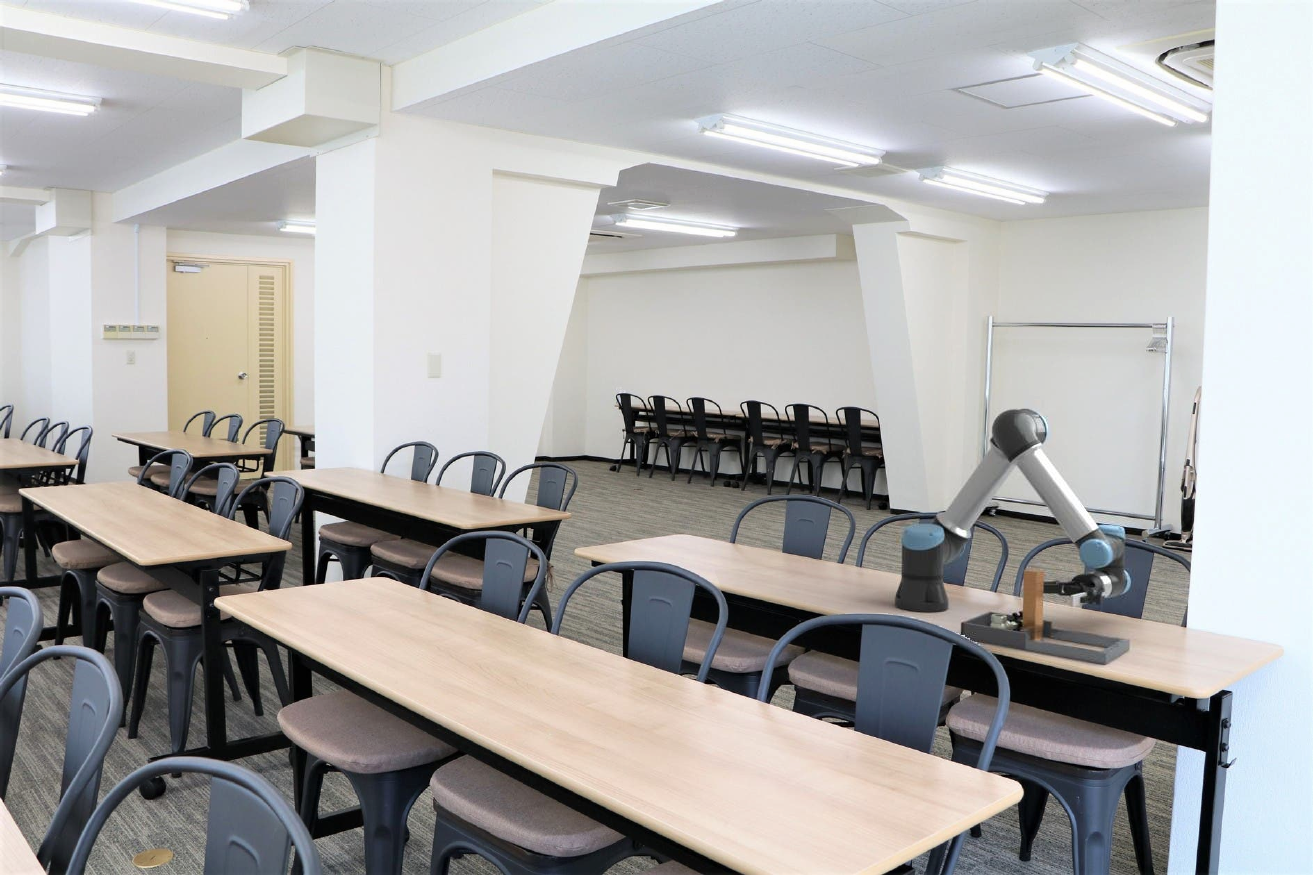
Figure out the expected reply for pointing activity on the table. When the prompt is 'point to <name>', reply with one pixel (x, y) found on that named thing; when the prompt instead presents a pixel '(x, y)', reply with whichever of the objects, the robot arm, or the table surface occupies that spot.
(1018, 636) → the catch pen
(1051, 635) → the slot rails
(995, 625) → the valve
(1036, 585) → the brown wooden block
